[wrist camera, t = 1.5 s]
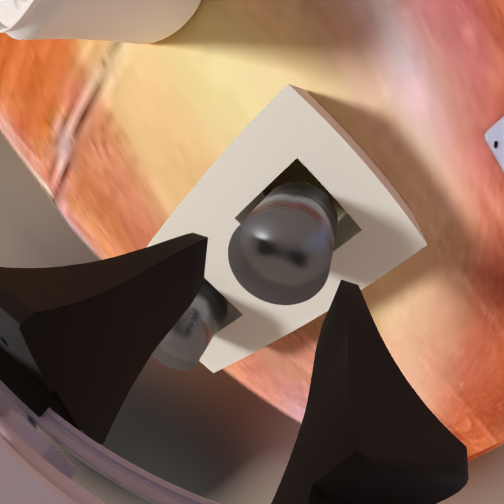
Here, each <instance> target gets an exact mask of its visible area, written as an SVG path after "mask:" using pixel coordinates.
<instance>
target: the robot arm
mask: <svg viewBox="0 0 504 504" xmlns="http://www.w3.org/2000/svg"><path fill="white" fill-rule="evenodd" d="M485 141H486V143H487V144H488V146H489V148H490V149H491V151H492V153H493V155H494V156H495V158H496V160H497V162H498V164H499V165H500V167H501V169H502V171H503V173H504V116H503V117H502V118H501V119H500V120H499V121H497V122H496V123H495V124H494V125H493V126H492V127H491V128H490V129H488V130H487V131H486V133H485ZM495 141H497V143H498V146H497V148H494V142H495ZM207 244H208V237H205V236H202V235H199V234H196V233H189V234H185V235H182V236H179V237H176V238H173V239H170V240H167V241H164V242H161V243H158V244H155V245H152V246H150V247H147V248H143V249H140V250H137V251H134V252H130V253H127V254H124V255H120V256H117V257H113V258H109V259H104V260H100V261H95V262H90V263H84V264H77V265H70V266H63V267H51V268H5V267H0V504H106V503H105V502H103V501H102V500H100V499H98V498H96V497H95V496H94V495H92V494H91V493H89V492H88V491H86V490H85V489H83V488H82V487H80V486H79V485H78V484H76V483H75V482H74V481H72V480H71V479H72V477H73V476H74V474H75V473H76V472H77V469H76V467H74V466H73V465H72V464H71V463H70V462H69V461H68V460H66V459H65V458H64V457H63V456H62V455H61V454H60V453H59V452H58V451H57V450H56V449H55V447H54V446H53V445H52V444H51V443H50V442H49V441H48V440H47V439H46V438H45V437H44V436H43V435H42V434H40V433H39V432H38V431H37V428H36V425H37V426H38V427H39V428H40V429H41V430H43V431H44V432H45V433H46V434H48V436H50V437H51V438H52V439H54V440H55V441H56V442H57V443H58V444H60V445H61V446H62V447H63V448H65V449H66V450H67V451H69V452H70V453H71V454H73V455H74V456H76V457H77V458H78V459H80V460H81V461H83V462H84V463H86V464H87V465H88V466H90V467H91V468H93V469H94V470H96V471H97V472H99V473H100V474H102V475H104V476H105V477H107V478H108V479H110V480H112V481H113V482H115V483H117V484H118V485H120V486H122V487H123V488H125V489H127V490H129V491H130V492H132V493H134V494H136V495H138V496H140V497H142V498H143V499H145V500H148V501H149V502H151V503H153V504H220V503H217V502H214V501H211V500H209V499H206V498H203V497H201V496H198V495H196V494H193V493H191V492H188V491H186V490H184V489H182V488H179V487H177V486H175V485H172V484H171V483H169V482H166V481H164V480H162V479H160V478H158V477H156V476H154V475H152V474H150V473H148V472H146V471H144V470H143V469H140V468H139V467H137V466H135V465H133V464H131V463H130V462H128V461H126V460H124V459H123V458H121V457H119V456H118V455H116V454H114V453H113V452H111V451H109V450H108V449H106V448H105V447H103V446H102V445H101V444H103V443H104V442H105V439H106V437H107V435H108V432H109V430H110V428H111V426H112V424H113V422H114V420H115V418H116V415H117V414H118V412H119V410H120V408H121V406H122V404H123V402H124V400H125V398H126V396H127V394H128V393H129V391H130V389H131V387H132V386H133V384H134V382H135V380H136V379H137V377H138V375H139V373H140V372H141V370H142V369H143V367H144V365H145V364H146V362H147V361H148V359H149V357H150V356H151V354H152V353H153V352H154V350H155V349H156V348H157V346H158V345H159V344H160V342H161V341H162V340H163V339H164V338H165V336H166V335H167V334H168V333H169V331H170V330H171V329H172V328H173V327H174V325H175V324H176V323H177V322H178V320H179V319H180V318H181V317H182V315H183V314H184V313H185V312H186V310H187V309H188V308H189V307H190V305H191V304H192V302H193V301H194V299H195V298H196V296H197V294H198V292H199V291H200V289H201V287H202V286H203V284H204V273H205V263H206V253H207ZM35 424H36V425H35ZM467 481H468V460H467V448H466V446H465V445H464V444H463V443H462V442H461V441H459V440H458V439H457V438H456V437H455V436H454V435H453V434H452V433H451V432H450V431H449V430H448V429H447V428H446V427H445V426H444V425H443V424H442V423H441V422H440V421H439V420H438V419H437V417H436V416H435V415H434V414H433V413H432V412H431V411H430V410H429V408H428V407H427V406H426V405H425V404H424V402H423V401H422V400H421V399H420V397H419V396H418V395H417V393H416V392H415V391H414V389H413V388H412V387H411V385H410V384H409V383H408V381H407V380H406V378H405V377H404V375H403V374H402V372H401V371H400V369H399V367H398V366H397V364H396V363H395V361H394V360H393V358H392V356H391V354H390V353H389V351H388V349H387V347H386V345H385V343H384V341H383V340H382V338H381V336H380V334H379V332H378V330H377V327H376V325H375V323H374V321H373V319H372V316H371V314H370V312H369V309H368V307H367V304H366V302H365V300H364V297H363V295H362V292H361V290H360V288H359V285H357V284H354V283H351V282H348V281H345V280H341V281H340V284H339V286H338V289H337V291H336V294H335V296H334V299H333V301H332V303H331V306H330V308H329V311H328V313H327V315H326V318H325V320H324V322H323V325H322V328H321V332H320V336H319V340H318V343H317V347H316V353H315V359H314V366H313V372H312V378H311V384H310V390H309V396H308V402H307V406H306V410H305V414H304V418H303V421H302V424H301V427H300V430H299V433H298V437H297V439H296V442H295V445H294V448H293V451H292V454H291V457H290V459H289V462H288V465H287V467H286V470H285V473H284V475H283V478H282V480H281V483H280V485H279V487H278V490H277V492H276V494H275V497H274V499H273V501H272V503H271V504H436V503H438V502H440V501H443V500H445V499H447V498H449V497H451V496H452V495H454V494H455V493H457V492H459V491H460V490H461V489H462V488H463V487H464V486H465V485H466V484H467Z"/></svg>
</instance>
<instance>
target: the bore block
mask: <svg viewBox="0 0 504 504" xmlns="http://www.w3.org/2000/svg"><path fill="white" fill-rule="evenodd" d="M297 158H298V159H299V161H300V162H301V163H302V164H303V165H304V166H305V167H306V168H307V169H308V170H309V171H310V172H311V173H312V174H313V175H314V176H315V177H316V178H317V180H318V181H319V182H320V183H321V184H322V185H323V186H324V187H325V188H326V189H327V190H328V192H329V193H330V194H331V195H332V196H333V197H334V198H335V199H336V200H337V202H338V203H339V204H340V205H341V206H342V207H343V208H344V210H345V212H344V213H343V214H342V215H340V216H339V217H338V218H337V230H336V236H335V242H334V248H333V254H332V260H331V265H330V271H329V275H328V278H327V281H326V283H325V285H324V286H323V288H322V289H321V290H320V291H319V292H318V293H317V294H316V295H315V296H314V297H312V298H311V299H309V300H307V301H305V302H302V303H299V304H295V305H276V304H271V303H268V302H265V301H263V300H260V299H258V298H256V297H255V296H253V295H252V294H250V293H249V292H248V291H246V290H245V289H244V288H243V287H242V286H241V285H240V284H239V282H238V281H237V279H236V278H235V276H234V275H233V273H232V270H231V268H230V264H229V260H228V246H229V242H230V239H231V237H232V234H233V233H234V231H235V230H236V228H237V227H238V226H239V225H240V224H241V223H242V222H243V221H244V220H245V219H246V217H247V216H248V215H249V214H250V213H251V212H252V211H253V210H254V209H255V208H256V207H257V205H258V204H259V203H260V202H261V201H262V200H263V199H264V198H265V197H266V195H265V194H264V193H263V192H262V191H263V190H264V189H265V188H266V187H267V186H268V185H269V184H270V183H271V182H272V181H273V180H274V179H275V178H276V177H277V176H278V175H280V174H281V173H282V172H283V171H284V170H285V169H286V168H287V167H288V166H289V165H290V164H291V163H292V162H293V161H294V160H296V159H297ZM189 233H196V234H199V235H202V236H205V237H208V244H207V253H206V263H205V273H204V278H205V279H206V280H207V281H208V282H209V283H210V284H212V285H213V286H214V287H215V288H216V289H217V290H218V291H219V292H220V293H221V294H222V295H223V296H224V297H225V298H226V299H227V300H228V301H229V302H228V301H227V300H226V302H227V307H228V311H227V315H226V317H225V319H224V321H223V322H222V324H221V325H220V327H219V329H218V330H217V332H216V334H215V335H214V337H213V338H212V340H211V342H210V343H209V345H208V347H207V348H206V350H205V351H204V353H203V355H202V356H201V358H200V360H199V361H200V362H201V363H202V364H204V365H205V366H206V367H207V368H209V370H211V371H212V372H213V373H214V372H216V371H218V370H220V369H222V368H224V367H226V366H228V365H230V364H232V363H234V362H236V361H238V360H240V359H242V358H244V357H246V356H248V355H250V354H252V353H254V352H256V351H258V350H260V349H261V348H263V347H265V346H267V345H269V344H271V343H273V342H274V341H276V340H278V339H280V338H282V337H284V336H285V335H287V334H289V333H291V332H292V331H294V330H296V329H298V328H299V327H301V326H303V325H305V324H306V323H308V322H310V321H312V320H313V319H315V318H317V317H318V316H320V315H322V314H323V313H325V312H327V311H328V310H329V308H330V306H331V303H332V301H333V299H334V296H335V294H336V291H337V289H338V286H339V284H340V281H341V280H345V281H348V282H351V283H354V284H357V285H359V288H360V290H362V289H364V288H365V287H367V286H368V285H370V284H371V283H373V282H375V281H376V280H378V279H379V278H381V277H382V276H384V275H385V274H387V273H388V272H390V271H391V270H392V269H394V268H395V267H397V266H398V265H400V264H401V263H403V262H404V261H406V260H407V259H408V258H410V257H411V256H413V255H414V254H415V253H417V252H418V251H420V250H421V249H422V248H424V247H425V246H427V243H426V240H425V238H424V236H423V234H422V231H421V229H420V227H419V225H418V223H417V221H416V219H415V217H414V214H413V212H412V211H411V209H410V208H409V206H408V205H407V204H406V202H405V201H404V200H403V198H402V197H401V196H400V195H399V193H398V192H397V191H396V189H395V188H394V187H393V186H392V184H391V183H390V182H389V180H388V179H387V178H386V177H385V176H384V174H383V173H382V172H381V171H380V169H379V168H378V167H377V166H376V165H375V163H374V162H373V161H372V160H371V159H370V158H369V156H368V155H367V154H366V153H365V152H364V151H363V149H362V148H361V147H360V146H359V145H358V144H357V143H356V142H355V141H354V139H353V138H352V137H351V136H350V135H349V134H348V133H347V132H346V131H345V130H344V129H343V128H342V126H341V125H340V124H339V123H338V122H337V121H336V120H335V119H334V118H333V117H332V116H331V115H330V114H329V113H328V112H327V111H326V110H325V109H324V108H323V107H322V106H321V105H320V104H319V103H318V102H317V101H316V100H315V99H314V98H313V97H312V96H311V95H310V94H309V93H308V92H307V91H305V90H304V89H301V88H298V87H295V86H292V85H289V84H288V85H287V86H286V87H285V88H284V89H283V90H282V91H281V92H280V93H279V94H278V95H277V96H276V97H275V98H274V99H273V100H272V101H271V102H270V103H269V104H268V105H267V106H266V107H265V108H264V109H263V110H262V111H261V112H260V113H259V114H258V115H257V116H256V117H255V118H254V120H253V121H252V122H251V123H250V124H249V125H248V126H247V127H246V128H245V129H244V130H243V131H242V132H241V134H240V135H239V136H238V137H237V138H236V139H235V140H234V141H233V142H232V143H231V145H230V146H229V147H228V148H227V149H226V150H225V151H224V152H223V154H222V155H221V156H220V157H219V158H218V159H217V160H216V162H215V163H214V164H213V165H212V166H211V167H210V168H209V170H208V171H207V172H206V173H205V174H204V175H203V177H202V178H201V179H200V180H199V181H198V183H197V184H196V185H195V186H194V187H193V189H192V190H191V191H190V192H189V193H188V195H187V196H186V197H185V198H184V200H183V201H182V202H181V203H180V204H179V206H178V207H177V208H176V209H175V211H174V212H173V213H172V214H171V216H170V217H169V218H168V220H167V221H166V222H165V223H164V225H163V226H162V227H161V229H160V230H159V231H158V232H157V234H156V235H155V236H154V238H153V239H152V240H151V242H150V243H149V244H148V246H147V247H150V246H152V245H155V244H158V243H161V242H164V241H167V240H170V239H173V238H176V237H179V236H182V235H185V234H189ZM147 247H146V248H147Z"/></svg>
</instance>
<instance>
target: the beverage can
mask: <svg viewBox="0 0 504 504" xmlns="http://www.w3.org/2000/svg"><path fill="white" fill-rule="evenodd" d="M200 2H201V0H0V33H6V34H7V35H9V36H10V37H12V38H14V39H18V40H32V39H89V40H105V41H117V42H126V43H135V44H149V43H154V42H157V41H160V40H162V39H165V38H167V37H168V36H170V35H172V34H173V33H175V32H176V31H177V30H179V29H180V28H181V27H182V26H183V25H184V24H185V23H186V22H187V21H188V20H189V19H190V18H191V17H192V15H193V14H194V13H195V11H196V10H197V8H198V6H199V4H200Z"/></svg>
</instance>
